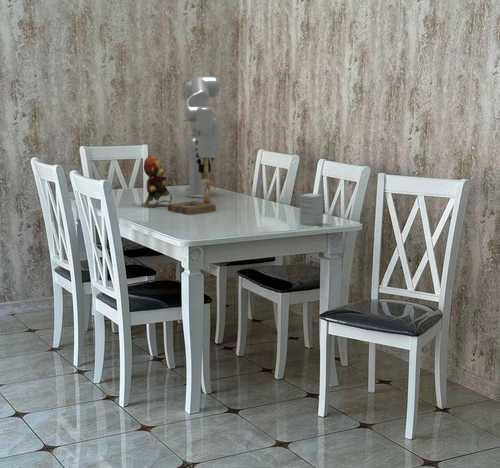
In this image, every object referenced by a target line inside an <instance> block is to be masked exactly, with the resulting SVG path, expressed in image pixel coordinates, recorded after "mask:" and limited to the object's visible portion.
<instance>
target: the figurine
mask: <svg viewBox="0 0 500 468" xmlns="http://www.w3.org/2000/svg"><path fill="white" fill-rule="evenodd" d="M204 184H206V186H207V187H205V193H206V194H207V193H208V195H206V194H205V196H204V197H202V201H203V203H208V204H209V203H210V202H211V200H212V198H211V195H210V196H209V193H210V192H211V191H210V190H211V185H213V188H214V189H216V188H217V187H216V184H215V183H214V182H212V181H210V180H209V179H207V181H206V182H205V183H203V184H202V185H204ZM202 185H201V187H202ZM201 187H200V188H201ZM206 190H207V192H206Z"/></svg>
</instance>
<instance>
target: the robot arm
mask: <svg viewBox="0 0 500 468" xmlns="http://www.w3.org/2000/svg"><path fill="white" fill-rule="evenodd" d="M220 82H221V81H220V79H219V78H218V77H217V76H212V75H211V76H210V75H209V76H207V75H199V76H195V77H193V78H192V79H191V80H189V81H187V82H185V83H184V86H183V91H184V96H185V100H186V101H185V102H184V117H185V120H186V122H188V123H189V130H190V132H191V133H192V134H195V135H196V136H195V135H194V136H190V137H189V138H188V139H187V142H186V143H187V152H188V153H187V154H188V162H189V163H188V166H189V167H188V173H189V174H188V176H189V182H188V183H189V187H187V188H185V190H186V192H187V193H186V197H188V198H203V197H204V196H205V194H206V193H205V187H207V186H206V184H204V185H202V184H203V183H205V182H206V181H207V179H201V173H204V165H203V158H208V173H211V172H212V171H211V170H212V169H211V166H212V162H213V161H214V160H215V158H217V155H218V154H220V153H221V148H222V140H221V135H222V134H221V120H220V118H219V116H217V115H216V112H215V109H214V108H213V107H212V106H206V104H207V103H208V102H209V101H210V98H217V96H218V95H219V93H220V90H221V83H220ZM201 185H202V187H201ZM200 187H201V188H200ZM206 192H207V194H206V195H208V193H209V196H210V197H211V193H210V192H208V189H207V190H206Z"/></svg>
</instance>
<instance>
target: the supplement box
mask: <svg viewBox="0 0 500 468" xmlns="http://www.w3.org/2000/svg"><path fill="white" fill-rule="evenodd" d="M299 196H300V197H299V224H300V225H305V226H311V225H313V226H318V225H321V224H323V222H324V221H323V220H324V218H323V217H324V213H323V212H324V195H323V194H318V193H311V192H309V193H304V194H301V195H300V194H299Z"/></svg>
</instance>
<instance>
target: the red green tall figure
mask: <svg viewBox="0 0 500 468" xmlns="http://www.w3.org/2000/svg"><path fill="white" fill-rule="evenodd" d="M143 171H144V173H145V175H146V176H148V177H149V178H148V179H147V181H146V190H147V198H146V201H145V202H144V205H143V207H144V208H145V207H147V208H150V207H151V208H153V207H155V206H156V205H158V204H160V203H168V204H171V202H172V194H171V193H170V191H169V190H168V188H167V186H166V185H164V184H163V182H166V180H167V178H168V177H167V176H164V173H165V170H164V168H162V163H161V161H160V160H159V159H158V158H157V157H155V156H151V155H149V156H148V157H146V158H145V159H144V162H143ZM168 196H170V198H169V199H170V200H161V201H159V199H160V198H161V197H168ZM154 200H155V201H156V202H155V203H154V204H153V205H152V206H151V205H150V202H152V201H154Z"/></svg>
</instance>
